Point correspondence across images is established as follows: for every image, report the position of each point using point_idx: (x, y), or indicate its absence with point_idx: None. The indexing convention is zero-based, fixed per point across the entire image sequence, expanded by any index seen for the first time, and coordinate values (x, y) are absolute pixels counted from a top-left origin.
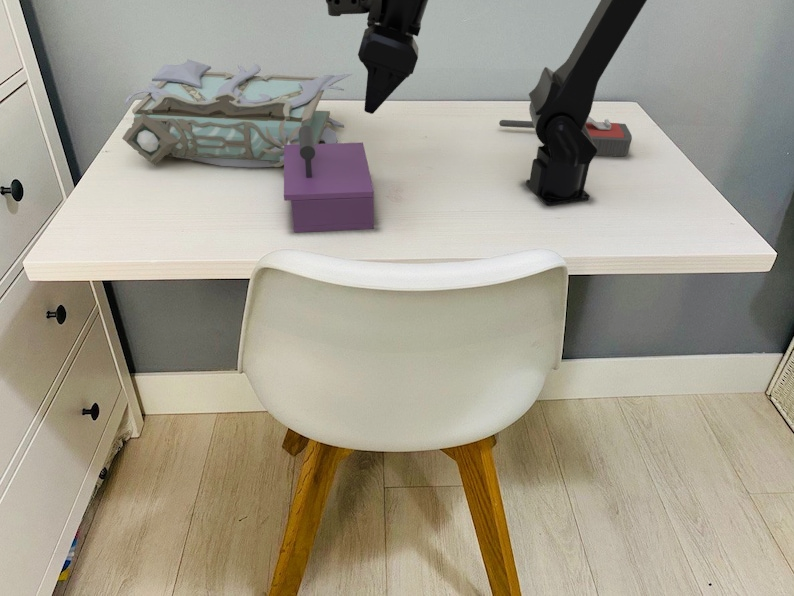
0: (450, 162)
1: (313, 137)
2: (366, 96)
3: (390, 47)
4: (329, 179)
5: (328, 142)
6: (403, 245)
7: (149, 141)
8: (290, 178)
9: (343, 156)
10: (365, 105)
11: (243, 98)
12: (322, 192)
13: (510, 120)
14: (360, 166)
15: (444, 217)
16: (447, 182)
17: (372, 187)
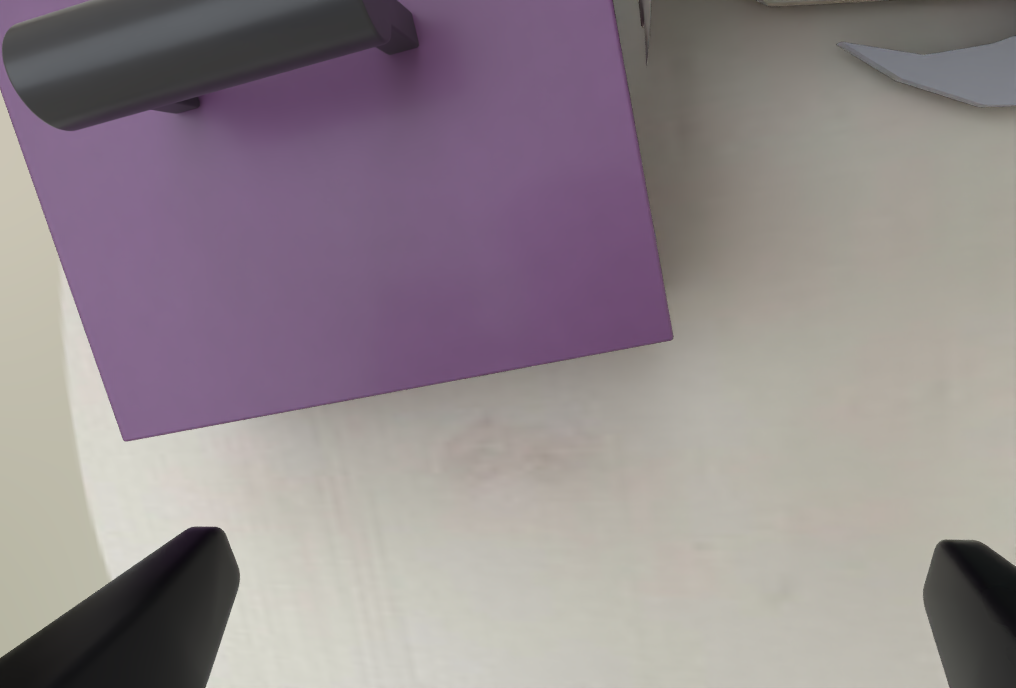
0: (846, 680)
1: (231, 73)
2: (42, 636)
3: None
4: (177, 214)
5: (1012, 58)
6: (154, 492)
7: None
8: None
9: (459, 249)
10: (140, 565)
11: None
12: (43, 203)
13: None
14: (355, 358)
15: (362, 628)
16: (644, 655)
17: (157, 434)
